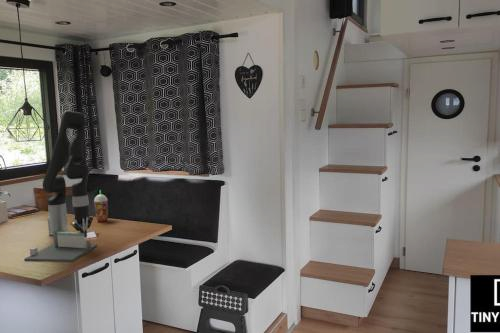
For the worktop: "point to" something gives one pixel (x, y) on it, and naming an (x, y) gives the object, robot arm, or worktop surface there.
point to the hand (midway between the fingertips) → (84, 238)
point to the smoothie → (101, 207)
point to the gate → (71, 239)
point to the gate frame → (59, 252)
